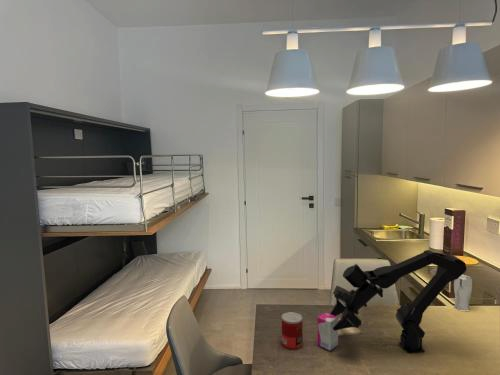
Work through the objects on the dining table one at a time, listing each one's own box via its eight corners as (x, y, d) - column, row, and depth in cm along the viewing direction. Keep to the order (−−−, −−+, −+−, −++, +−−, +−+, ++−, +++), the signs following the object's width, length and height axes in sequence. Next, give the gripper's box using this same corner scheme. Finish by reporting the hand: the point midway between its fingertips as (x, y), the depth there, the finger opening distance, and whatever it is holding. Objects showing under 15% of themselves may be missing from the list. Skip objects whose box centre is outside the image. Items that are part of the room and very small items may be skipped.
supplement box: (338, 345, 128) (338, 316, 127) (329, 352, 124) (329, 322, 123) (325, 339, 132) (325, 311, 131) (316, 345, 128) (316, 316, 127)
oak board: (349, 320, 148) (349, 317, 148) (361, 334, 136) (361, 332, 136) (322, 322, 147) (322, 319, 146) (332, 337, 135) (332, 334, 135)
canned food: (300, 351, 125) (300, 323, 124) (279, 347, 128) (279, 320, 126) (304, 340, 132) (304, 313, 131) (284, 337, 135) (284, 310, 134)
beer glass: (454, 303, 160) (455, 273, 158) (471, 307, 155) (473, 276, 154) (451, 309, 154) (453, 277, 153) (469, 313, 150) (471, 281, 148)
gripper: (342, 271, 134) (313, 297, 136) (352, 290, 116) (319, 320, 118) (361, 290, 134) (333, 316, 137) (375, 313, 116) (342, 342, 118)
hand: (331, 323), depth 127 cm, fingers open, 9 cm apart
